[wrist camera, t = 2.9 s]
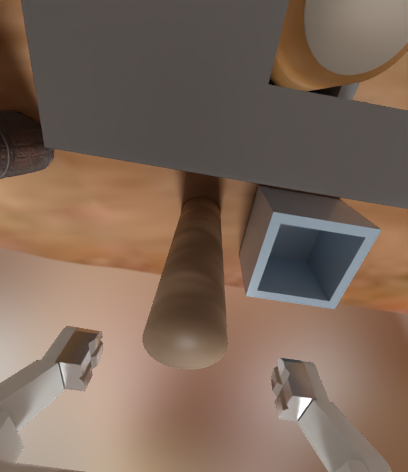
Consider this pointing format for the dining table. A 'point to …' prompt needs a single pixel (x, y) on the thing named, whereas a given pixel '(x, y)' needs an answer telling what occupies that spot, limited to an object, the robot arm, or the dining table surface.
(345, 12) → the button
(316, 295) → the cup
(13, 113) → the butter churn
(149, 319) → the wooden dowel
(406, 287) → the dining table surface
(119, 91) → the box
